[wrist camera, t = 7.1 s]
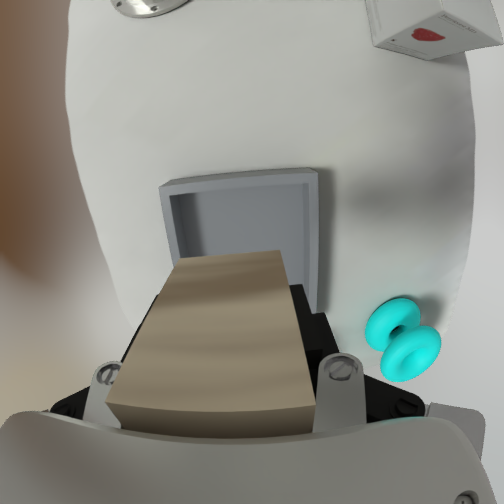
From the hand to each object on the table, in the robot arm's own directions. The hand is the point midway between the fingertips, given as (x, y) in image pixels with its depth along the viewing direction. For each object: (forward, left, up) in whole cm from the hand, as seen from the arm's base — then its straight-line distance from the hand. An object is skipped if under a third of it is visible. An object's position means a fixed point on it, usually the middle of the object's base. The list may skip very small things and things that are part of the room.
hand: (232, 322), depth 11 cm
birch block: (0, 0, -2) cm, 2 cm away
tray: (+7, 0, -22) cm, 23 cm away
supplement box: (-23, +22, -22) cm, 39 cm away
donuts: (+21, +22, -22) cm, 37 cm away
